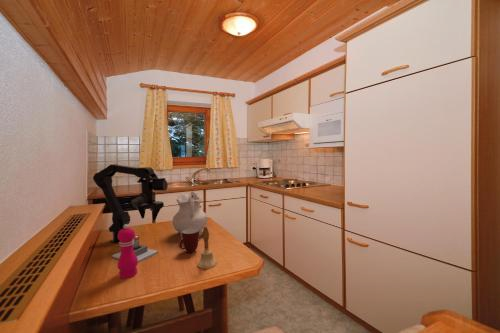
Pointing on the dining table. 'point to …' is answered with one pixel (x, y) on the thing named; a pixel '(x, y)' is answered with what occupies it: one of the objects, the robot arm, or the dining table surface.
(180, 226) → the ceramic pitcher
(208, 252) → the hand bell
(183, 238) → the mug
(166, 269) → the dining table surface
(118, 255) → the grey plate with socket
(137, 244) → the pin
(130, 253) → the pepper mill
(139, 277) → the dining table surface
